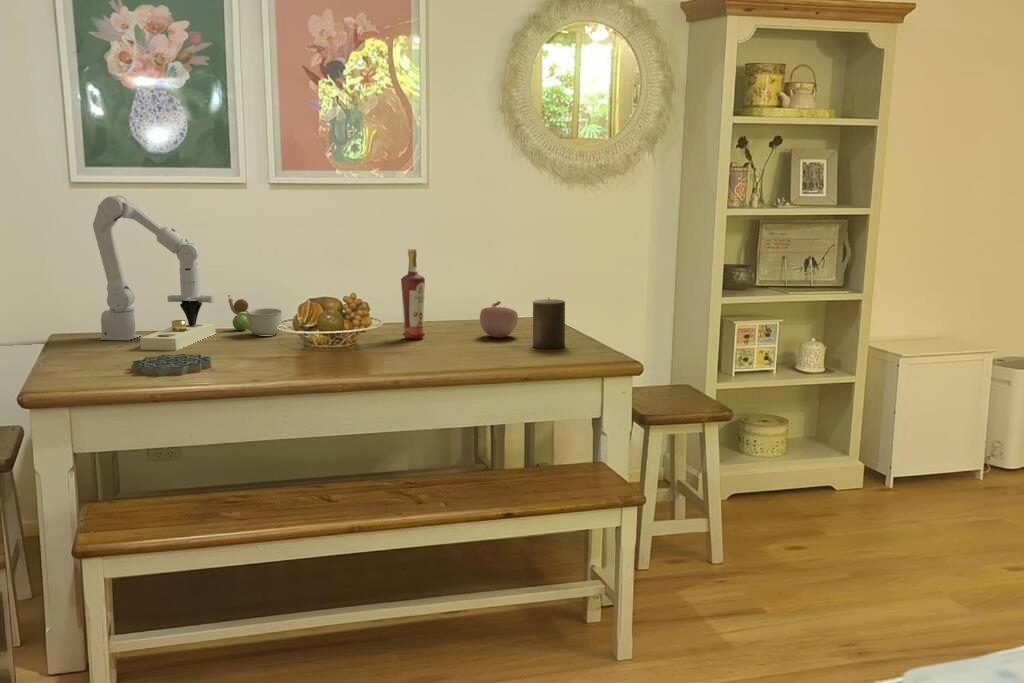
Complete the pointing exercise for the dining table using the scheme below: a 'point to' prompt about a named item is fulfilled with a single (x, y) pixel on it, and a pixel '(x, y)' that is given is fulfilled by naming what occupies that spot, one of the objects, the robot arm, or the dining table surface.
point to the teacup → (262, 320)
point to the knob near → (165, 335)
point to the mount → (177, 337)
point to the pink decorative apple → (498, 320)
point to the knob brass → (178, 325)
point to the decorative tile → (171, 365)
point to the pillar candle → (549, 323)
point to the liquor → (413, 299)
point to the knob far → (192, 325)
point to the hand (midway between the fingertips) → (192, 324)
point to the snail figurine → (237, 308)
